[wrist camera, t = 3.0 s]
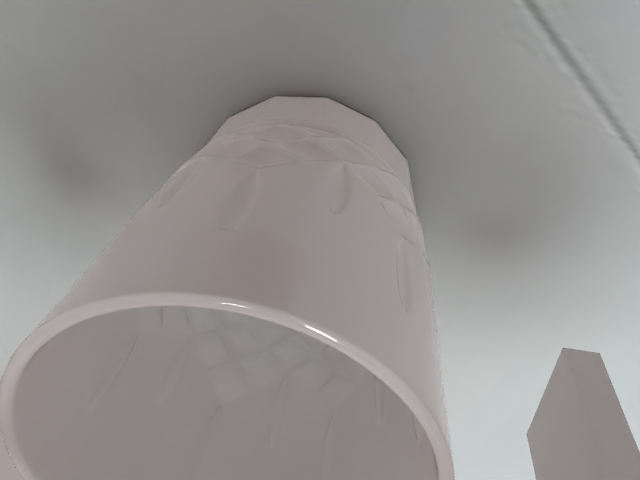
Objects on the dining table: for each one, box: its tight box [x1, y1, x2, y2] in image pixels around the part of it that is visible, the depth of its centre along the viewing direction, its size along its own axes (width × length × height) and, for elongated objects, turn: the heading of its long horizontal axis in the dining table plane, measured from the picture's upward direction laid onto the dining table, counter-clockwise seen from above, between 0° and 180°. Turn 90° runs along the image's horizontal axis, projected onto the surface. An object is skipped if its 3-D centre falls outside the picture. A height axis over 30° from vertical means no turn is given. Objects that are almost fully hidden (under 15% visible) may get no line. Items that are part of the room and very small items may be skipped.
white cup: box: [0, 96, 455, 480], centre depth 14 cm, size 8×8×10 cm
